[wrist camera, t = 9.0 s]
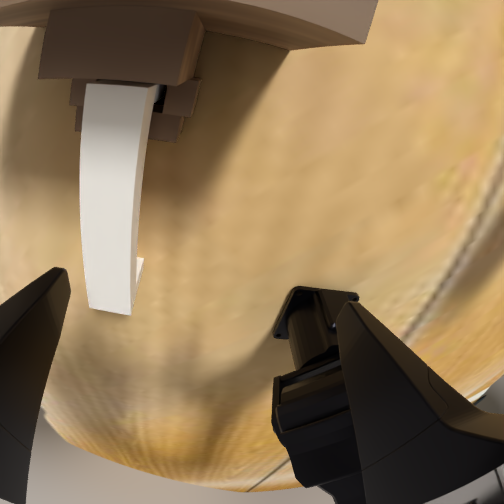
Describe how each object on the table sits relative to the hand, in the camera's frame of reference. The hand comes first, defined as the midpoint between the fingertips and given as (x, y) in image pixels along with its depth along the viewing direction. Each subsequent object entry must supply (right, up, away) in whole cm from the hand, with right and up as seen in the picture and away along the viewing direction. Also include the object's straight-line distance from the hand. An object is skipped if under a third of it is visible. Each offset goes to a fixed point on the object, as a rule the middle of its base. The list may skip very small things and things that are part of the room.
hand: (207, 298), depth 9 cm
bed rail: (-7, +6, +10) cm, 13 cm away
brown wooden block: (-5, +12, +5) cm, 14 cm away
